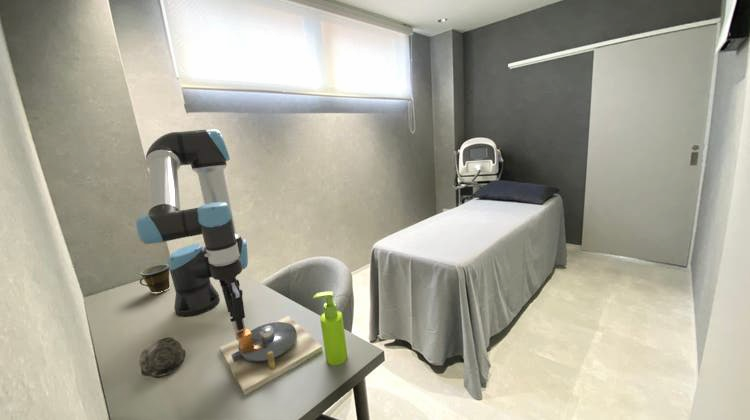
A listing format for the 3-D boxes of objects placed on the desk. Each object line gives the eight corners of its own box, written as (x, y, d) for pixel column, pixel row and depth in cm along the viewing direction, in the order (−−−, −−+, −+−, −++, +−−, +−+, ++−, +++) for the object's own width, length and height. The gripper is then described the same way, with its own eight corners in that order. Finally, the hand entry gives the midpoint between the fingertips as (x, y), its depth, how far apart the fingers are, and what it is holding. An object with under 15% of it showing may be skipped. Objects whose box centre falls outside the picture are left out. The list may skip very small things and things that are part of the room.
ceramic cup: (159, 284, 142) (153, 264, 139) (179, 284, 141) (174, 264, 138) (134, 300, 130) (128, 278, 127) (156, 300, 128) (150, 278, 126)
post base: (220, 351, 94) (216, 334, 93) (289, 319, 107) (286, 304, 106) (244, 395, 78) (240, 374, 76) (322, 350, 91) (319, 332, 89)
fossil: (165, 383, 83) (140, 354, 81) (144, 393, 86) (120, 365, 84) (195, 353, 93) (173, 326, 92) (176, 363, 96) (154, 337, 94)
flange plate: (283, 319, 103) (280, 302, 101) (306, 342, 91) (303, 322, 89) (224, 346, 92) (220, 327, 90) (242, 376, 80) (238, 355, 78)
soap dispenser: (323, 352, 90) (314, 289, 85) (347, 349, 91) (339, 286, 86) (321, 367, 85) (311, 300, 80) (347, 363, 85) (339, 297, 80)
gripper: (203, 258, 87) (221, 333, 93) (216, 272, 77) (234, 355, 83) (232, 250, 91) (247, 322, 97) (247, 262, 81) (262, 341, 87)
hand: (241, 337), depth 90 cm, fingers closed
